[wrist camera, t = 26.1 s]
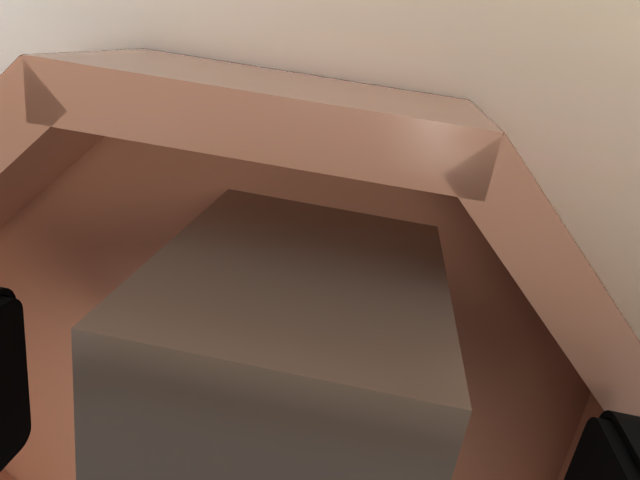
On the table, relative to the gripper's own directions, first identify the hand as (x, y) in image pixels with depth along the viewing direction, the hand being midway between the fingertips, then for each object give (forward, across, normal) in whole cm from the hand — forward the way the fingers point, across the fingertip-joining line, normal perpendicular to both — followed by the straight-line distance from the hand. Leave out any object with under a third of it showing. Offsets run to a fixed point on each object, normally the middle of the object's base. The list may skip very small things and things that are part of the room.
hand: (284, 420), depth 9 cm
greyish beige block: (+4, 0, 0) cm, 4 cm away
